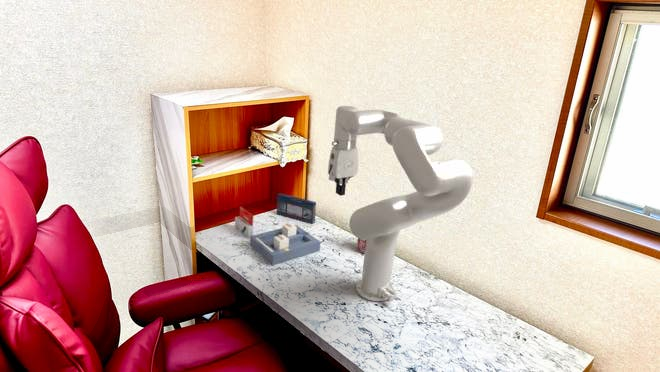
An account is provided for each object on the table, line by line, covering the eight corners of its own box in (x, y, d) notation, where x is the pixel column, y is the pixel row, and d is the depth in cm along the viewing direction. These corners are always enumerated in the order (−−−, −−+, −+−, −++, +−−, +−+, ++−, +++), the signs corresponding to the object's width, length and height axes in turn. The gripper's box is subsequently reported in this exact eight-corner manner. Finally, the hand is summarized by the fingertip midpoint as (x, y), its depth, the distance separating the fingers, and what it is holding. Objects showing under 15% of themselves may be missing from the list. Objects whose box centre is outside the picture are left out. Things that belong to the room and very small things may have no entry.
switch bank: (319, 250, 167) (320, 241, 166) (272, 265, 154) (273, 255, 153) (295, 233, 179) (295, 224, 178) (250, 245, 167) (250, 236, 165)
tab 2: (296, 238, 171) (296, 225, 169) (287, 240, 168) (288, 227, 166) (290, 234, 174) (291, 221, 172) (282, 236, 171) (282, 223, 169)
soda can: (375, 255, 167) (378, 228, 162) (357, 254, 167) (360, 226, 162) (373, 247, 173) (377, 220, 169) (356, 245, 173) (359, 218, 169)
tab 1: (288, 250, 161) (289, 237, 159) (279, 253, 159) (279, 240, 157) (282, 246, 164) (283, 233, 162) (273, 248, 161) (274, 235, 159)
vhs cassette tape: (276, 214, 195) (277, 194, 192) (279, 212, 198) (280, 192, 194) (311, 225, 188) (313, 204, 184) (315, 222, 190) (316, 202, 187)
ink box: (248, 238, 172) (248, 216, 168) (234, 228, 180) (234, 206, 176) (253, 237, 173) (253, 215, 170) (239, 226, 181) (239, 205, 178)
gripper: (334, 148, 137) (329, 201, 144) (368, 144, 146) (363, 194, 153) (320, 143, 143) (316, 194, 149) (354, 138, 152) (349, 187, 158)
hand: (340, 194), depth 151 cm, fingers closed
